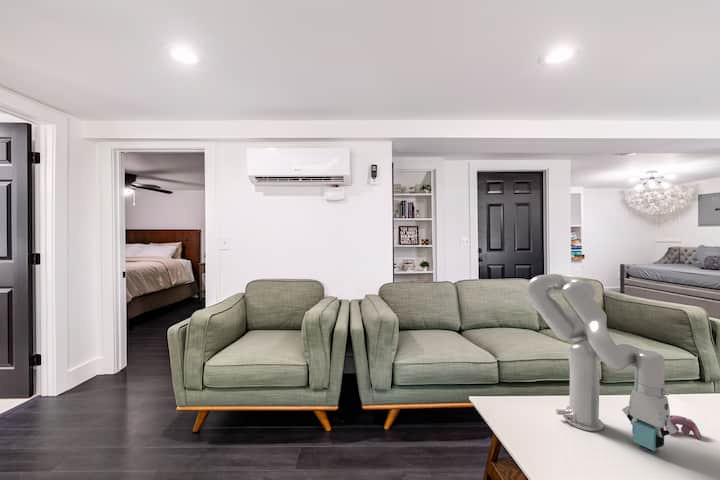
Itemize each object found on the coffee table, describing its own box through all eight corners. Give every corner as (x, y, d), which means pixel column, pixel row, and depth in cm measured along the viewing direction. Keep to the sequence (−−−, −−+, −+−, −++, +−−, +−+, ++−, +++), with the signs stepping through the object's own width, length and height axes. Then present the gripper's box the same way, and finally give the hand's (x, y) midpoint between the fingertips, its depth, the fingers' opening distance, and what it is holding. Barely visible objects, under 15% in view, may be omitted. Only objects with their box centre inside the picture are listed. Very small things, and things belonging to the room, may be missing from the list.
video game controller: (696, 439, 123) (691, 417, 126) (703, 440, 119) (698, 418, 122) (663, 434, 126) (658, 413, 129) (669, 434, 122) (664, 413, 125)
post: (651, 453, 112) (651, 432, 112) (638, 447, 115) (638, 427, 115) (656, 450, 114) (657, 430, 114) (644, 444, 117) (644, 424, 117)
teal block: (653, 450, 111) (654, 430, 111) (632, 441, 116) (633, 422, 116) (662, 446, 113) (663, 426, 113) (642, 436, 118) (642, 418, 118)
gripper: (687, 397, 108) (685, 453, 108) (626, 376, 124) (624, 425, 124) (675, 402, 105) (674, 460, 105) (614, 380, 120) (613, 430, 121)
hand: (647, 441), depth 115 cm, fingers closed on teal block, 5 cm apart
